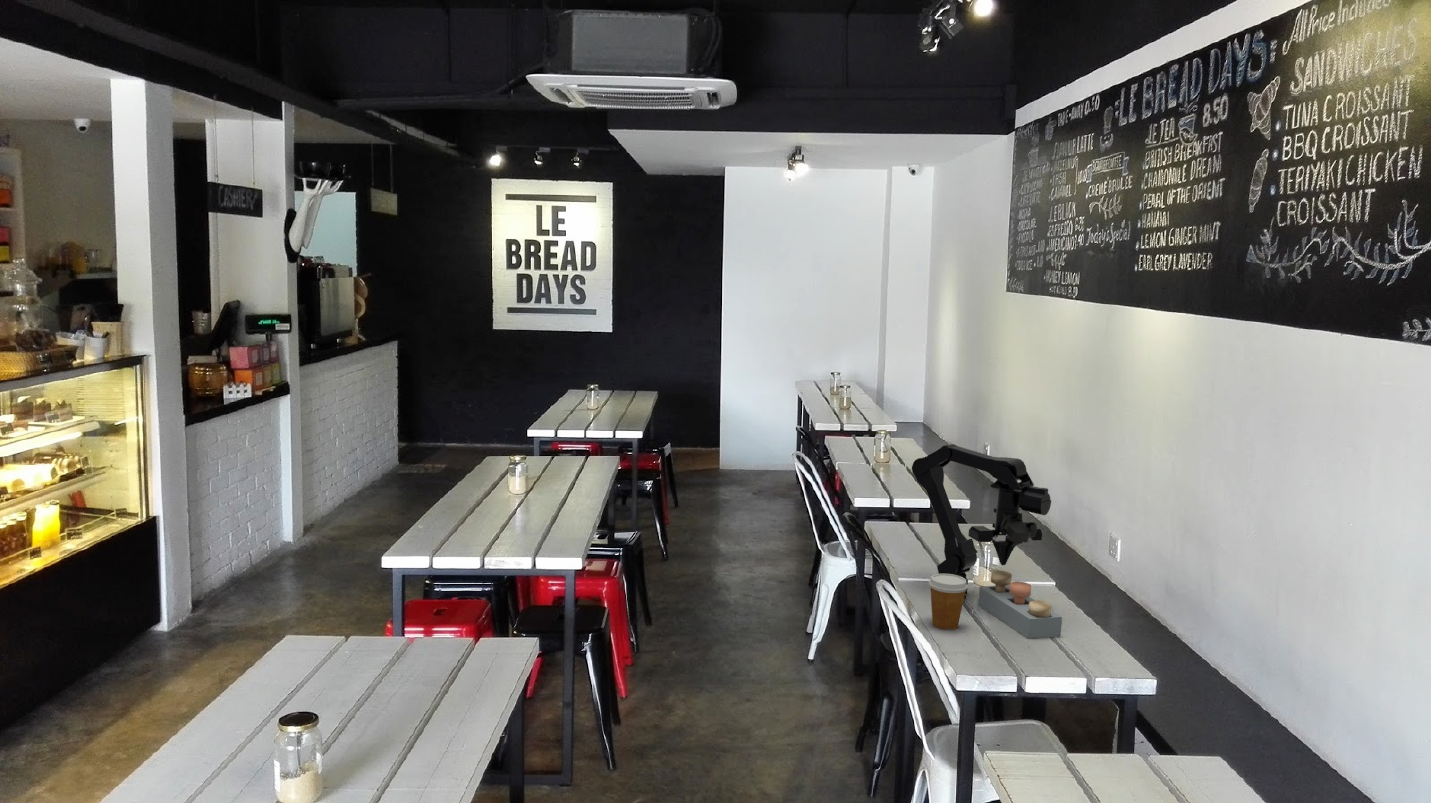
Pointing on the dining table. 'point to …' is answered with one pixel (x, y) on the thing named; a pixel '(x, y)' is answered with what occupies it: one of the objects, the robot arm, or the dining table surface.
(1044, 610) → the knob
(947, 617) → the disposable coffee cup
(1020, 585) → the knob middle
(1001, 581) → the knob
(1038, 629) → the grey peg holder block
